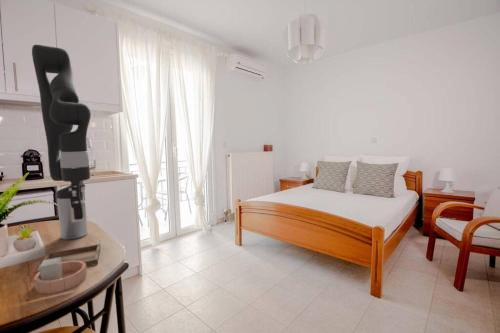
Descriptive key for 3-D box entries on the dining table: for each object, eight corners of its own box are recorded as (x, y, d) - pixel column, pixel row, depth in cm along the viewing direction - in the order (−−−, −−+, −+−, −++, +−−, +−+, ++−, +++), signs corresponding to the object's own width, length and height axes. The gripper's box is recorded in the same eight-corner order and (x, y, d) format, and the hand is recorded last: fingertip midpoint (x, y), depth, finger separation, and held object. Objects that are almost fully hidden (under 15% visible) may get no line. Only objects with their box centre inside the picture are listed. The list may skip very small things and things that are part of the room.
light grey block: (45, 280, 71) (43, 260, 71) (62, 276, 73) (60, 257, 73) (41, 287, 68) (39, 266, 67) (60, 283, 70) (57, 263, 69)
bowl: (42, 277, 74) (41, 266, 74) (88, 267, 79) (87, 257, 79) (30, 299, 64) (28, 286, 63) (83, 286, 69) (82, 275, 69)
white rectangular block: (73, 218, 83) (72, 201, 82) (87, 217, 85) (86, 199, 84) (71, 222, 79) (69, 204, 78) (86, 220, 81) (84, 202, 80)
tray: (48, 258, 86) (47, 252, 85) (100, 248, 93) (100, 243, 93) (36, 277, 74) (35, 271, 74) (97, 265, 81) (97, 259, 81)
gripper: (65, 164, 84) (69, 213, 86) (55, 168, 72) (61, 225, 74) (91, 163, 88) (94, 210, 90) (86, 166, 75) (91, 221, 77)
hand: (79, 216), depth 82 cm, fingers closed on white rectangular block, 4 cm apart
